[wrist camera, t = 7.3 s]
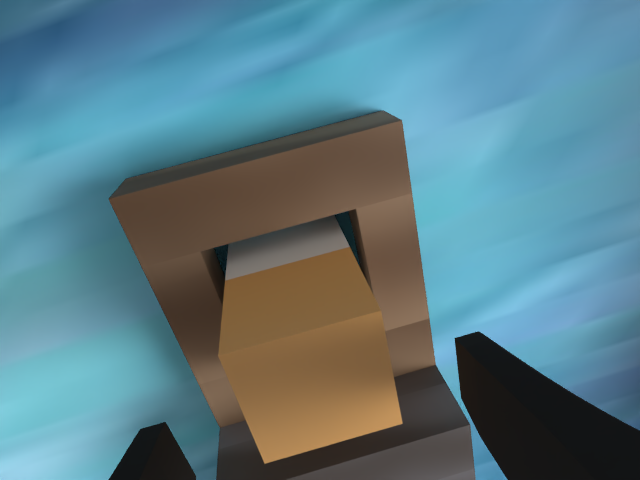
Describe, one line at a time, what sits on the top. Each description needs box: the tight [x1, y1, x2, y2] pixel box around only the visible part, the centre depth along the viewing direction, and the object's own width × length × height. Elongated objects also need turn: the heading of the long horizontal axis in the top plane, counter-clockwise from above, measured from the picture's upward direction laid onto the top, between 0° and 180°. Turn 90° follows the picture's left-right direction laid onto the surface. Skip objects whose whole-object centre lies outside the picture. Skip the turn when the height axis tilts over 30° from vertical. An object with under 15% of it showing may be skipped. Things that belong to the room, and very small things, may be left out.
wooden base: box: [109, 111, 475, 480], centre depth 17 cm, size 20×9×5 cm, turn 13°
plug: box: [218, 215, 403, 464], centre depth 14 cm, size 4×4×6 cm
